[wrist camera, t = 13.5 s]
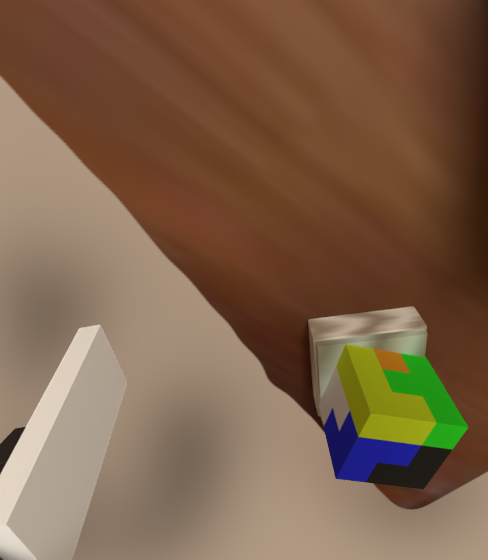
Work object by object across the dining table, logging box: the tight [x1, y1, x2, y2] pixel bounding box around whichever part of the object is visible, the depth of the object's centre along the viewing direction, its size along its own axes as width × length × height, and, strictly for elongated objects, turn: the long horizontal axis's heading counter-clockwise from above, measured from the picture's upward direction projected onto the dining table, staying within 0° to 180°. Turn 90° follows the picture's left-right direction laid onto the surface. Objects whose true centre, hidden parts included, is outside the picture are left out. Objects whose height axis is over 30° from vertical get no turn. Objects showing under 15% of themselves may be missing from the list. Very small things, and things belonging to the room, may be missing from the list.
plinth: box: [308, 306, 427, 420], centre depth 52 cm, size 13×13×5 cm
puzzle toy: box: [319, 344, 468, 489], centre depth 46 cm, size 10×10×10 cm
